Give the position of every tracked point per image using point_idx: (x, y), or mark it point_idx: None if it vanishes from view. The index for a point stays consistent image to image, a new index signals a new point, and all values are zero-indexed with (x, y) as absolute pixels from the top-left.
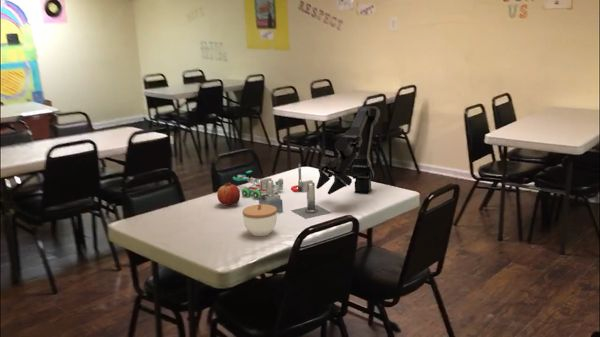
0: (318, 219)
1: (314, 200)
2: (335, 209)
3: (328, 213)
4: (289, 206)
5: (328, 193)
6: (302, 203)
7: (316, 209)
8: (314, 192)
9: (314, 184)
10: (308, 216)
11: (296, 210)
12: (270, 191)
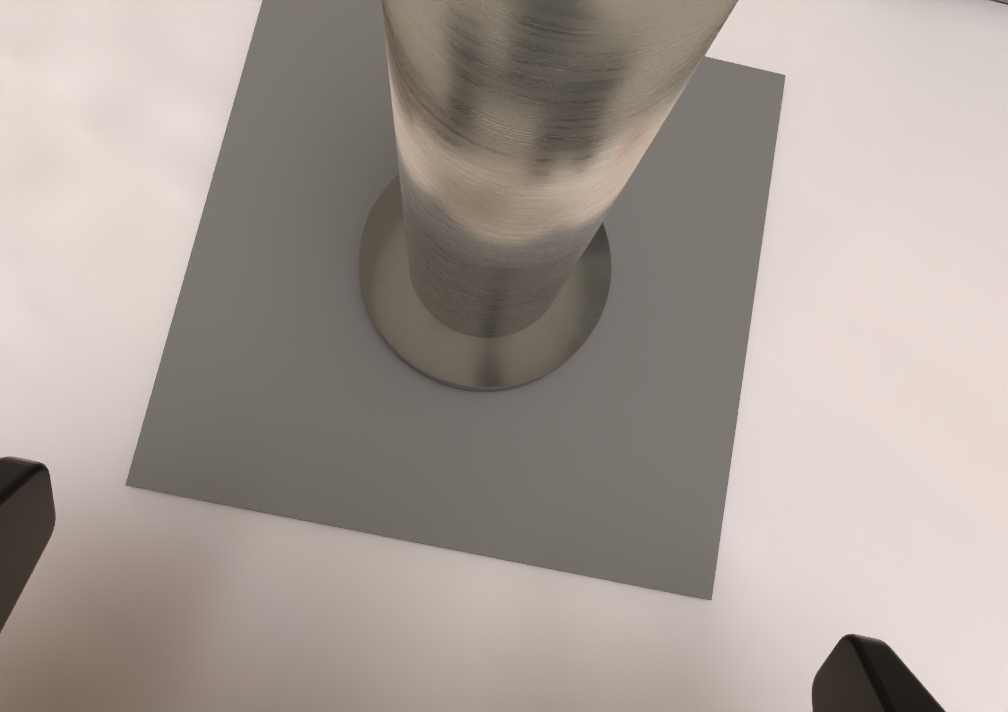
0: (66, 71)
1: (407, 217)
2: (220, 698)
3: (150, 416)
4: (993, 210)
5: (2, 474)
6: (984, 486)
7: (403, 319)
8: (406, 138)
9: (435, 4)
10: (300, 40)
11: (711, 122)
12: None
